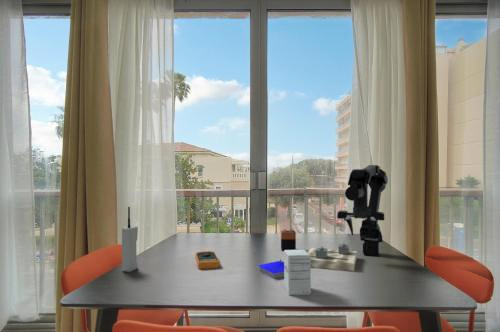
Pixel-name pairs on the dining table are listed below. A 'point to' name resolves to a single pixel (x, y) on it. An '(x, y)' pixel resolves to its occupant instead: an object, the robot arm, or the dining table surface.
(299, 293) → the supplement box
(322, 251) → the switch tab
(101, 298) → the dining table surface
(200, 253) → the multimeter
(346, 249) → the switch tab
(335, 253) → the switch board
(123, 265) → the vintage mobile phone
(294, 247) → the battery
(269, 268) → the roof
